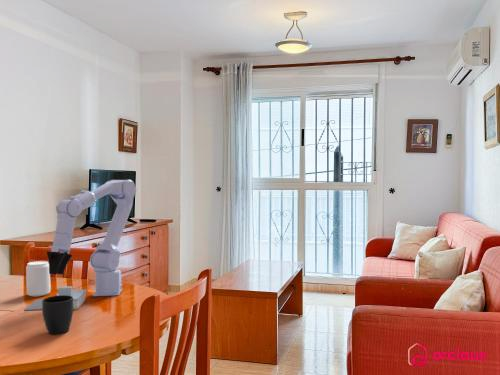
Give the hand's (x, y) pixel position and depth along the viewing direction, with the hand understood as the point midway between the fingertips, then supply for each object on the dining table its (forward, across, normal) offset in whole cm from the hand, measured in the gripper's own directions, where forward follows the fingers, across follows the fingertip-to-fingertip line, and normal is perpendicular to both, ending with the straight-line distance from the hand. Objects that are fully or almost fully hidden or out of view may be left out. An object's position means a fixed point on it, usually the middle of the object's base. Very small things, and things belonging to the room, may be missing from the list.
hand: (56, 274), depth 161 cm
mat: (+11, -7, -4) cm, 14 cm away
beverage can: (+9, -22, -11) cm, 26 cm away
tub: (+10, -5, +5) cm, 12 cm away
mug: (+15, +20, +9) cm, 27 cm away
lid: (+7, -4, +4) cm, 10 cm away
